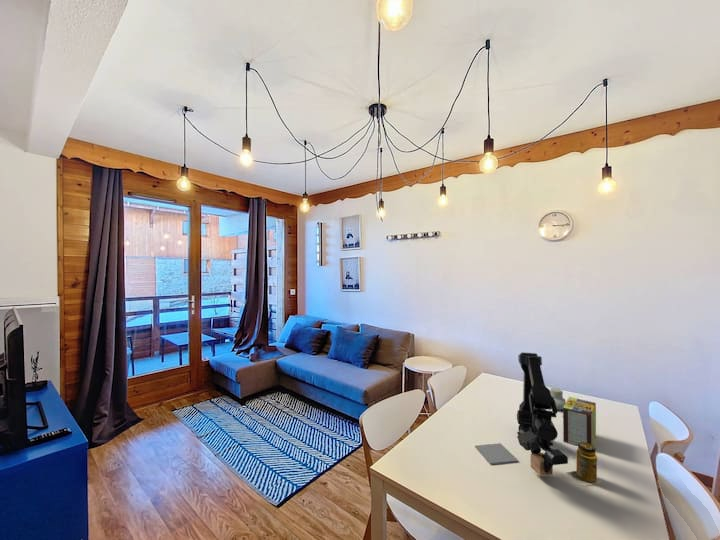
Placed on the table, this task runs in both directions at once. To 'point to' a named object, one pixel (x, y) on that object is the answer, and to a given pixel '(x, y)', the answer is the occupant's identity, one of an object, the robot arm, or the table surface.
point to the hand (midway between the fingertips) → (541, 467)
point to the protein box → (579, 421)
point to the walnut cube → (539, 464)
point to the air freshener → (558, 398)
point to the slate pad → (496, 453)
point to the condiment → (586, 465)
